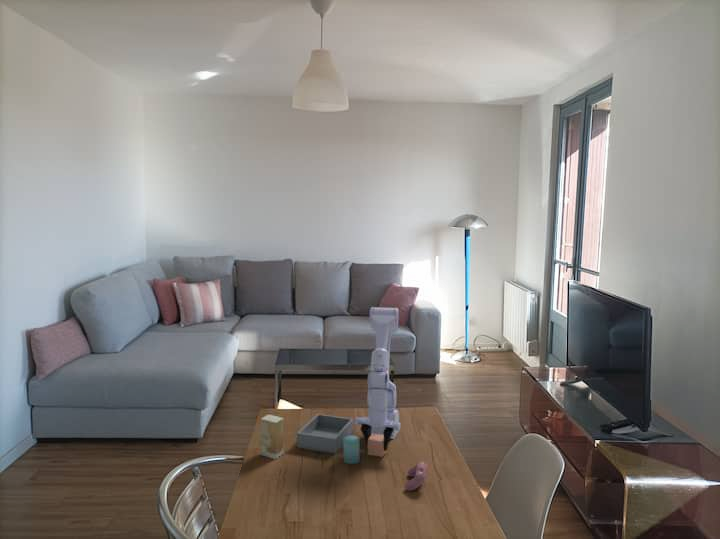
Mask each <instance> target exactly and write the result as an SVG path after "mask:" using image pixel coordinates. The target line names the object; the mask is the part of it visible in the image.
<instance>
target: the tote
mask: <svg viewBox="0 0 720 539" xmlns="http://www.w3.org/2000/svg"><path fill="white" fill-rule="evenodd" d="M354 425H355V419H354V418H350V417H343V416H336V415H329V414H322V413H317V414H316V415H314V416H313V418H311V419H310V420H309V421H308V422H307V423H306V424H305V425H304V426H303V427H302V428H300V429H299V430H298V431H297V433H296V448H297V447H298V448H297V449H302V448H303V449H302V450H308V451H315V452H321V453H327V454H333V455H336V454H338V452H339V451H340V449H341V448H343V438H344V437H346V436H351V435H352V436H353V434H354V430H355V427H354Z"/></svg>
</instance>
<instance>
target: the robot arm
mask: <svg viewBox="0 0 720 539" xmlns="http://www.w3.org/2000/svg"><path fill="white" fill-rule="evenodd" d="M399 311H400V310H399V308H398V307H378V306H377V307H374V306H371V307H370V308H369V324H370V328H371V330H372V332H375V349H374V350H372V352H371V357H370V358H371V360H370V369H369V370H370V371H369V372H368V374H367V388H368V390H367V400H366V401H367V402H366V403H367V406H368V416H357V417H355V419H354V425H356V426H358V425H361V426H360V432H361V434H362V435H363V437H364V440H365V443H366V444H365V445H366V446H367V447H366V448H367V449H368V439H369V437H370V436H371V435H372V433H373V434H380V435H384V451H386V450H388V448H389V443H390V440H391V439H392V440H394V439H395V438H396V436H397V435H398V434H399V431H400V430H401V422H400V412H399V410H397V409H395V408H396V406H397V387H396V384H394V383H393V382H392V381H391V380H390V356H391V355H390V354H391V339H392V335H393V333H396V332H398V328H399V316H400V315H399V314H400V313H399ZM386 452H387V451H386Z"/></svg>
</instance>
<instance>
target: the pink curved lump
mask: <svg viewBox="0 0 720 539" xmlns="http://www.w3.org/2000/svg"><path fill="white" fill-rule="evenodd" d="M428 466H429V465H428V464H427V462H422V461H419V462H417V463H416V464H415V465H414V466H412V467H411V468H409V469H408V471H407V474H408V476H409V477H413V478H412V479H410V480H409V481H406V483H405V485H404V489H405V491H409V492H410V491H414V490H417V489H418V488H419V487H420V486H422V485H423V484H426V482H427V479H426V477H427V474H426V472H427V469H428Z"/></svg>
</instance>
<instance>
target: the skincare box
mask: <svg viewBox="0 0 720 539" xmlns="http://www.w3.org/2000/svg"><path fill="white" fill-rule="evenodd" d="M284 428H285V418H284V417H280V416H279V415H278V416H276V415H272V414H267V415H264V416H263V417H261V418H260V456H263V457H267V458H270V459H274V460H277V459H278V458H280V457H281V456H282V454H283V455H284V438H285V437H284V436H285V435H284V432H285V430H284ZM279 456H280V457H279ZM276 458H277V459H276Z"/></svg>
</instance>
